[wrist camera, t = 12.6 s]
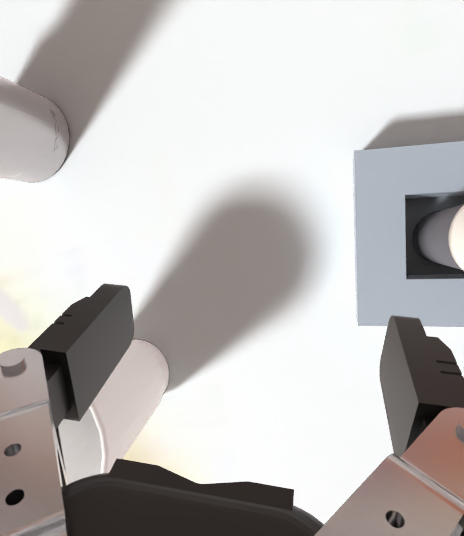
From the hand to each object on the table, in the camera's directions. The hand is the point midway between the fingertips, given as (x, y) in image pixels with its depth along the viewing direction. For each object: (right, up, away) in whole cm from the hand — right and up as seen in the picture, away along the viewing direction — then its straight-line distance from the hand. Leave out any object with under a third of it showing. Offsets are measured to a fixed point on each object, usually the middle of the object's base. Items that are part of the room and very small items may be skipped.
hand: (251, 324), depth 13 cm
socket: (+17, +4, +23) cm, 29 cm away
